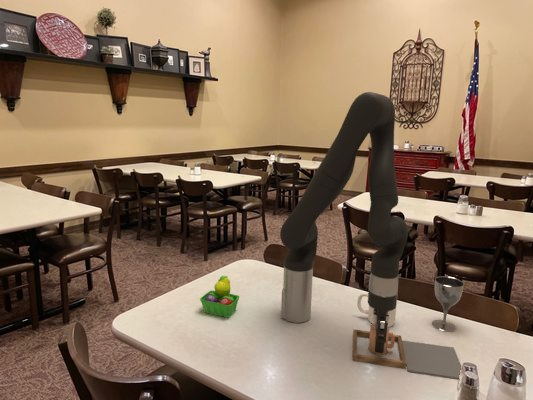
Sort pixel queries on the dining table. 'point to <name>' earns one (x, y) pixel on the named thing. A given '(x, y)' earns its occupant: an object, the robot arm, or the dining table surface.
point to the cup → (370, 311)
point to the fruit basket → (220, 299)
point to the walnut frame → (378, 360)
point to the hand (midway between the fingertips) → (378, 343)
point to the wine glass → (447, 299)
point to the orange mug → (386, 345)
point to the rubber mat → (431, 359)
